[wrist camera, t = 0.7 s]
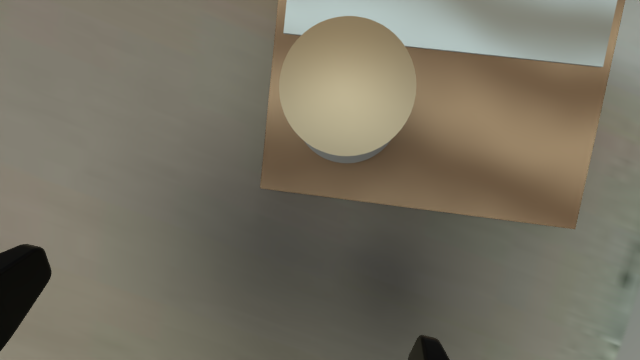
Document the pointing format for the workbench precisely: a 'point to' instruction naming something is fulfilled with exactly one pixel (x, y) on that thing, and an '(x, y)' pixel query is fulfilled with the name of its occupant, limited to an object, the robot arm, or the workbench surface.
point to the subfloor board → (467, 107)
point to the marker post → (347, 88)
